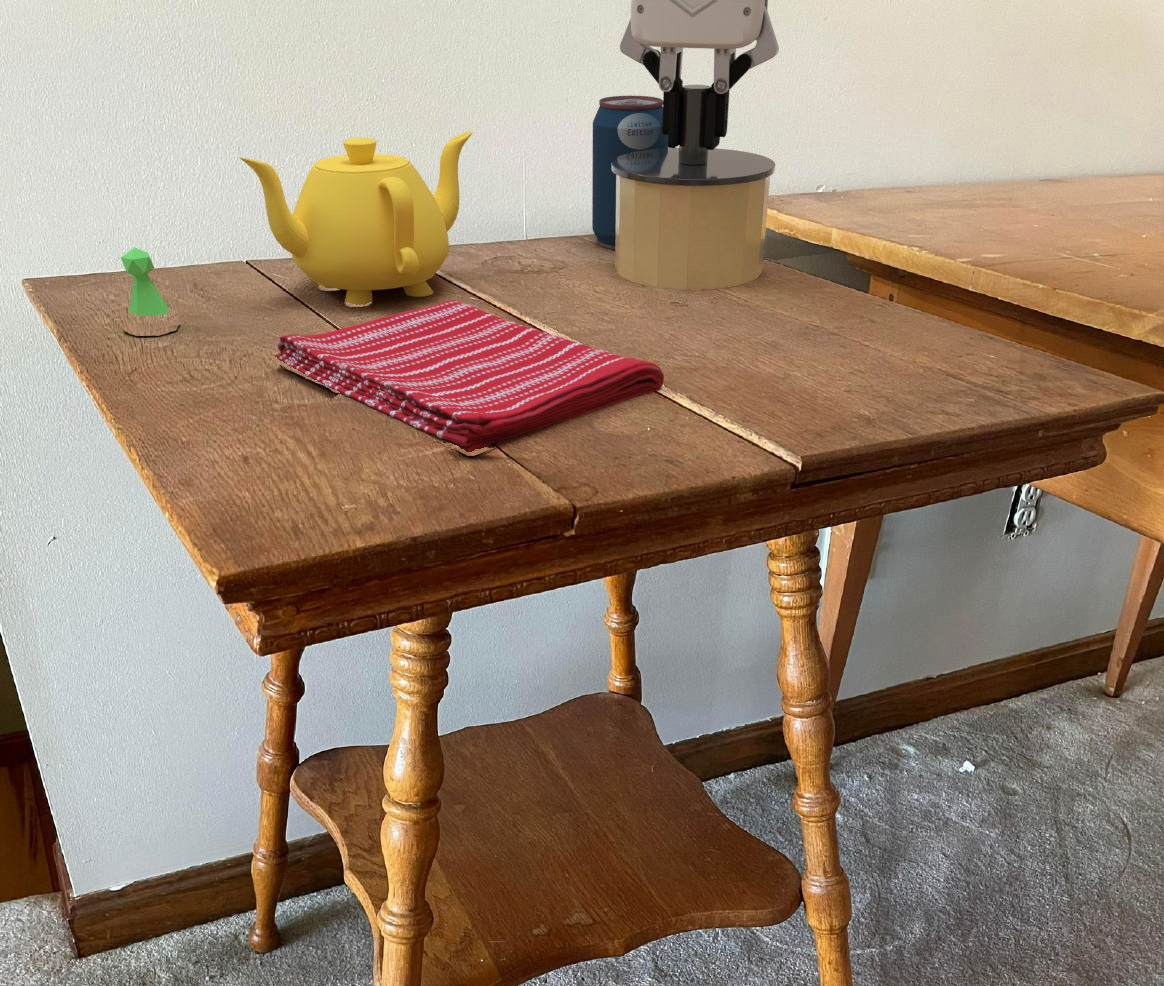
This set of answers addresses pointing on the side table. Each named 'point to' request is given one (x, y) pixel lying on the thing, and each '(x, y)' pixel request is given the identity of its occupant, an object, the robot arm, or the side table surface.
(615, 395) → the dish towel
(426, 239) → the teapot
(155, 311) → the game piece
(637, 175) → the lid
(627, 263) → the pot
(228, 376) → the side table surface
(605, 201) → the soda can
